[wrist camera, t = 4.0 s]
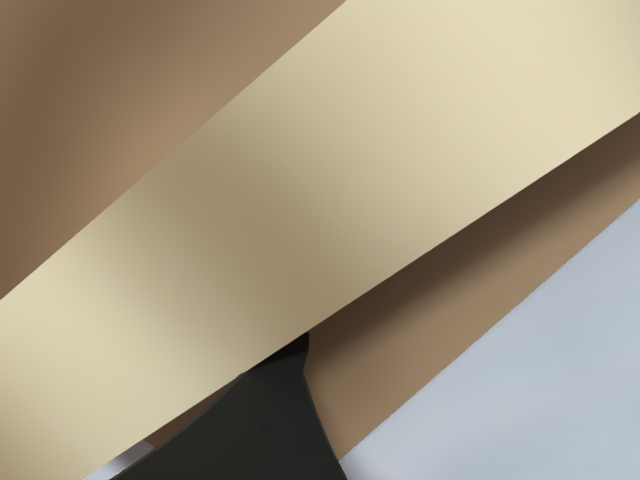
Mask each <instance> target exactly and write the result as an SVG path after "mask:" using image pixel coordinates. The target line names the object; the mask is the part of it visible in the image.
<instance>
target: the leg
mask: <svg viewBox="0 0 640 480" xmlns="http://www.w3.org/2000/svg"><path fill="white" fill-rule="evenodd" d="M639 112H640V0H347V1H345V2H344V3H343V4H342V5H341V6H340V7H338V8H337V9H336V10H335V11H334V12H333V13H332V14H330V15H329V16H328V17H327V18H326V19H325V20H323V21H322V22H321V23H320V24H319V25H318V26H316V27H315V28H314V29H313V30H312V31H311V32H310V33H308V34H307V35H306V36H305V37H304V38H303V39H301V40H300V41H299V42H298V43H297V44H296V45H295V46H293V47H292V48H291V49H290V50H289V51H288V52H286V53H285V54H284V55H283V56H282V57H281V58H280V59H278V60H277V61H276V62H275V63H274V64H273V65H271V66H270V67H269V68H268V69H267V70H266V71H265V72H263V73H262V74H261V75H260V76H259V77H258V78H256V79H255V80H254V81H253V82H252V83H251V84H250V85H248V86H247V87H246V88H245V89H244V90H243V91H241V92H240V93H239V94H238V95H237V96H236V97H235V98H233V99H232V100H231V101H230V102H229V103H228V104H226V105H225V106H224V107H223V108H222V109H221V110H219V111H218V112H217V113H216V114H215V115H214V116H213V117H211V118H210V119H209V120H208V121H207V122H206V123H204V124H203V125H202V126H201V127H200V128H199V129H198V130H196V131H195V132H194V133H193V134H192V135H191V136H189V137H188V138H187V139H186V140H185V141H184V142H183V143H181V144H180V145H179V146H178V147H177V148H176V149H174V150H173V151H172V152H171V153H170V154H169V155H168V156H166V157H165V158H164V159H163V160H162V161H161V162H159V163H158V164H157V165H156V166H155V167H154V168H153V169H151V170H150V171H149V172H148V173H147V174H146V175H144V176H143V177H142V178H141V179H140V180H139V181H138V182H136V183H135V184H134V185H133V186H132V187H131V188H129V189H128V190H127V191H126V192H125V193H124V194H122V195H121V196H120V197H119V198H118V199H117V200H116V201H114V202H113V203H112V204H111V205H110V206H109V207H107V208H106V209H105V210H104V211H103V212H102V213H101V214H99V215H98V216H97V217H96V218H95V219H94V220H92V221H91V222H90V223H89V224H88V225H87V226H86V227H84V228H83V229H82V230H81V231H80V232H79V233H77V234H76V235H75V236H74V237H73V238H72V239H71V240H69V241H68V242H67V243H66V244H65V245H64V246H62V247H61V248H60V249H59V250H58V251H57V252H56V253H54V254H53V255H52V256H51V257H50V258H49V259H47V260H46V261H45V262H44V263H43V264H42V265H41V266H39V267H38V268H37V269H36V270H35V271H34V272H32V273H31V274H30V275H29V276H28V277H27V278H25V279H24V280H23V281H22V282H21V283H20V284H19V285H17V286H16V287H15V288H14V289H13V290H12V291H10V292H9V293H8V294H7V295H6V296H5V297H4V298H2V299H1V300H0V480H82V479H83V478H85V477H86V476H88V475H89V474H91V473H92V472H94V471H95V470H97V469H98V468H100V467H101V466H103V465H104V464H106V463H107V462H109V461H110V460H112V459H114V458H115V457H117V456H118V455H120V454H121V453H123V452H124V451H126V450H127V449H129V448H130V447H132V446H133V445H135V444H136V443H138V442H139V441H141V440H142V439H144V438H145V437H147V436H148V435H150V434H151V433H153V432H155V431H156V430H158V429H159V428H161V427H162V426H164V425H165V424H167V423H168V422H170V421H171V420H173V419H174V418H176V417H177V416H179V415H180V414H182V413H183V412H185V411H186V410H188V409H189V408H191V407H193V406H194V405H196V404H197V403H199V402H200V401H202V400H203V399H205V398H206V397H208V396H209V395H211V394H212V393H214V392H215V391H217V390H218V389H220V388H221V387H223V386H224V385H226V384H227V383H229V382H231V381H232V380H234V379H235V378H236V377H237V376H238V375H239V374H241V373H243V372H246V371H247V370H249V369H250V368H252V367H253V366H255V365H256V364H258V363H259V362H261V361H262V360H264V359H265V358H267V357H268V356H270V355H272V354H273V353H275V352H276V351H278V350H279V349H281V348H282V347H284V346H285V345H287V344H288V343H290V342H291V341H293V340H294V339H296V338H297V337H299V336H300V335H302V334H303V333H305V332H306V331H308V330H310V329H311V328H313V327H314V326H316V325H317V324H319V323H320V322H322V321H323V320H325V319H326V318H328V317H329V316H331V315H332V314H334V313H335V312H337V311H338V310H340V309H341V308H343V307H344V306H346V305H347V304H349V303H351V302H352V301H354V300H355V299H357V298H358V297H360V296H361V295H363V294H364V293H366V292H367V291H369V290H370V289H372V288H373V287H375V286H376V285H378V284H379V283H381V282H382V281H384V280H385V279H387V278H389V277H390V276H392V275H393V274H395V273H396V272H398V271H399V270H401V269H402V268H404V267H405V266H407V265H408V264H410V263H411V262H413V261H414V260H416V259H417V258H419V257H420V256H422V255H423V254H425V253H426V252H428V251H430V250H431V249H433V248H434V247H436V246H437V245H439V244H440V243H442V242H443V241H445V240H446V239H448V238H449V237H451V236H452V235H454V234H455V233H457V232H458V231H460V230H461V229H463V228H464V227H466V226H468V225H469V224H471V223H472V222H474V221H475V220H477V219H478V218H480V217H481V216H483V215H484V214H486V213H487V212H489V211H490V210H492V209H493V208H495V207H496V206H498V205H499V204H501V203H502V202H504V201H506V200H507V199H509V198H510V197H512V196H513V195H515V194H516V193H518V192H519V191H521V190H522V189H524V188H525V187H527V186H528V185H530V184H531V183H533V182H534V181H536V180H537V179H539V178H540V177H542V176H543V175H545V174H547V173H548V172H550V171H551V170H553V169H554V168H556V167H557V166H559V165H560V164H562V163H563V162H565V161H566V160H568V159H569V158H571V157H572V156H574V155H575V154H577V153H578V152H580V151H581V150H583V149H585V148H586V147H588V146H589V145H591V144H592V143H594V142H595V141H597V140H598V139H600V138H601V137H603V136H604V135H606V134H607V133H609V132H610V131H612V130H613V129H615V128H616V127H618V126H619V125H621V124H622V123H624V122H626V121H627V120H629V119H630V118H632V117H633V116H635V115H636V114H638V113H639Z"/></svg>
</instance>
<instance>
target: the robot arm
mask: <svg viewBox="0 0 640 480" xmlns="http://www.w3.org/2000/svg"><path fill="white" fill-rule="evenodd" d="M308 351H309V332H305V333H303V334H302V335H300V336H299V337H297V338H296V339H294V340H293V341H291V342H290V343H288V344H287V345H285V346H284V347H282V348H281V349H279V350H278V351H276V352H275V353H273V354H272V355H270V356H268V357H267V358H265V359H264V360H262V361H261V362H259V363H258V364H256V365H255V366H253V367H252V368H250V369H249V370H247V371H246V372H243V373H241V374H239V375H238V376H237V377H236V379H235V380H234V381H233V382H232V383H231V384H230V385H229V386H228V387H227V388H226V389H225V390H224V391H223V392H222V393H221V394H219V395H218V396H217V397H216V398H215V399H214V400H213V401H212V402H211V403H210V404H209V405H208V406H207V407H206V408H205V409H204V410H203V411H201V412H200V413H199V414H198V415H197V416H196V417H194V418H193V419H192V420H191V421H190V422H189V423H187V424H186V425H185V426H184V427H183V428H181V429H180V430H179V431H177V432H176V433H175V434H174V435H172V436H171V437H170V438H169V439H167V440H166V441H165V442H163V443H162V444H161V445H159V446H158V447H156V448H155V449H154V450H152V451H151V452H149V453H148V454H146V455H145V456H144V457H142V458H141V459H139V460H138V461H137V462H135V463H134V464H132V465H131V466H129V467H128V468H126V469H125V470H123V471H122V472H120V473H119V474H117V475H116V476H114V477H113V478H111V479H110V480H348V479H347V477H346V475H345V473H344V471H343V470H342V468H341V466H340V464H339V462H338V460H337V458H336V456H335V453H334V451H333V449H332V447H331V445H330V443H329V440H328V438H327V436H326V433H325V431H324V428H323V426H322V424H321V421H320V419H319V416H318V414H317V411H316V408H315V406H314V403H313V400H312V397H311V394H310V391H309V388H308V385H307V382H306V378H305V375H304V372H303V369H304V365H305V362H306V358H307V355H308Z"/></svg>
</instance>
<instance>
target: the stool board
mask: <svg viewBox="0 0 640 480" xmlns="http://www.w3.org/2000/svg"><path fill="white" fill-rule="evenodd" d="M345 1H347V0H0V300H1V299H2V298H4V297H5V296H6V295H7V294H8V293H9V292H10V291H12V290H13V289H14V288H15V287H16V286H17V285H19V284H20V283H21V282H22V281H23V280H24V279H25V278H27V277H28V276H29V275H30V274H31V273H32V272H34V271H35V270H36V269H37V268H38V267H39V266H41V265H42V264H43V263H44V262H45V261H46V260H47V259H49V258H50V257H51V256H52V255H53V254H54V253H56V252H57V251H58V250H59V249H60V248H61V247H62V246H64V245H65V244H66V243H67V242H68V241H69V240H71V239H72V238H73V237H74V236H75V235H76V234H77V233H79V232H80V231H81V230H82V229H83V228H84V227H86V226H87V225H88V224H89V223H90V222H91V221H92V220H94V219H95V218H96V217H97V216H98V215H99V214H101V213H102V212H103V211H104V210H105V209H106V208H107V207H109V206H110V205H111V204H112V203H113V202H114V201H116V200H117V199H118V198H119V197H120V196H121V195H122V194H124V193H125V192H126V191H127V190H128V189H129V188H131V187H132V186H133V185H134V184H135V183H136V182H138V181H139V180H140V179H141V178H142V177H143V176H144V175H146V174H147V173H148V172H149V171H150V170H151V169H153V168H154V167H155V166H156V165H157V164H158V163H159V162H161V161H162V160H163V159H164V158H165V157H166V156H168V155H169V154H170V153H171V152H172V151H173V150H174V149H176V148H177V147H178V146H179V145H180V144H181V143H183V142H184V141H185V140H186V139H187V138H188V137H189V136H191V135H192V134H193V133H194V132H195V131H196V130H198V129H199V128H200V127H201V126H202V125H203V124H204V123H206V122H207V121H208V120H209V119H210V118H211V117H213V116H214V115H215V114H216V113H217V112H218V111H219V110H221V109H222V108H223V107H224V106H225V105H226V104H228V103H229V102H230V101H231V100H232V99H233V98H235V97H236V96H237V95H238V94H239V93H240V92H241V91H243V90H244V89H245V88H246V87H247V86H248V85H250V84H251V83H252V82H253V81H254V80H255V79H256V78H258V77H259V76H260V75H261V74H262V73H263V72H265V71H266V70H267V69H268V68H269V67H270V66H271V65H273V64H274V63H275V62H276V61H277V60H278V59H280V58H281V57H282V56H283V55H284V54H285V53H286V52H288V51H289V50H290V49H291V48H292V47H293V46H295V45H296V44H297V43H298V42H299V41H300V40H301V39H303V38H304V37H305V36H306V35H307V34H308V33H310V32H311V31H312V30H313V29H314V28H315V27H316V26H318V25H319V24H320V23H321V22H322V21H323V20H325V19H326V18H327V17H328V16H329V15H330V14H332V13H333V12H334V11H335V10H336V9H337V8H338V7H340V6H341V5H342V4H343V3H344V2H345ZM639 198H640V112H639V113H638V114H636V115H635V116H633V117H632V118H630V119H629V120H627V121H626V122H624V123H622V124H621V125H619V126H618V127H616V128H615V129H613V130H612V131H610V132H609V133H607V134H606V135H604V136H603V137H601V138H600V139H598V140H597V141H595V142H594V143H592V144H591V145H589V146H588V147H586V148H585V149H583V150H581V151H580V152H578V153H577V154H575V155H574V156H572V157H571V158H569V159H568V160H566V161H565V162H563V163H562V164H560V165H559V166H557V167H556V168H554V169H553V170H551V171H550V172H548V173H547V174H545V175H543V176H542V177H540V178H539V179H537V180H536V181H534V182H533V183H531V184H530V185H528V186H527V187H525V188H524V189H522V190H521V191H519V192H518V193H516V194H515V195H513V196H512V197H510V198H509V199H507V200H506V201H504V202H502V203H501V204H499V205H498V206H496V207H495V208H493V209H492V210H490V211H489V212H487V213H486V214H484V215H483V216H481V217H480V218H478V219H477V220H475V221H474V222H472V223H471V224H469V225H468V226H466V227H464V228H463V229H461V230H460V231H458V232H457V233H455V234H454V235H452V236H451V237H449V238H448V239H446V240H445V241H443V242H442V243H440V244H439V245H437V246H436V247H434V248H433V249H431V250H430V251H428V252H426V253H425V254H423V255H422V256H420V257H419V258H417V259H416V260H414V261H413V262H411V263H410V264H408V265H407V266H405V267H404V268H402V269H401V270H399V271H398V272H396V273H395V274H393V275H392V276H390V277H389V278H387V279H385V280H384V281H382V282H381V283H379V284H378V285H376V286H375V287H373V288H372V289H370V290H369V291H367V292H366V293H364V294H363V295H361V296H360V297H358V298H357V299H355V300H354V301H352V302H351V303H349V304H347V305H346V306H344V307H343V308H341V309H340V310H338V311H337V312H335V313H334V314H332V315H331V316H329V317H328V318H326V319H325V320H323V321H322V322H320V323H319V324H317V325H316V326H314V327H313V328H311V329H310V330H308V331H306V332H309V351H308V355H307V358H306V362H305V365H304V369H303V372H304V375H305V378H306V382H307V385H308V388H309V391H310V394H311V397H312V400H313V403H314V406H315V408H316V411H317V414H318V416H319V419H320V421H321V424H322V426H323V428H324V431H325V433H326V436H327V438H328V440H329V443H330V445H331V447H332V449H333V451H334V453H335V456H336V458H337V460H339V459H341V458H342V457H343V456H344V455H345V454H346V453H348V452H349V451H350V450H351V449H352V448H353V447H354V446H356V445H357V444H358V443H359V442H360V441H361V440H362V439H364V438H365V437H366V436H367V435H368V434H369V433H370V432H372V431H373V430H374V429H375V428H376V427H377V426H379V425H380V424H381V423H382V422H383V421H384V420H385V419H387V418H388V417H389V416H390V415H391V414H392V413H393V412H395V411H396V410H397V409H398V408H399V407H400V406H401V405H403V404H404V403H405V402H406V401H407V400H408V399H410V398H411V397H412V396H413V395H414V394H415V393H416V392H418V391H419V390H420V389H421V388H422V387H423V386H424V385H426V384H427V383H428V382H429V381H430V380H431V379H432V378H434V377H435V376H436V375H437V374H438V373H439V372H441V371H442V370H443V369H444V368H445V367H446V366H447V365H449V364H450V363H451V362H452V361H453V360H454V359H455V358H457V357H458V356H459V355H460V354H461V353H462V352H463V351H465V350H466V349H467V348H468V347H469V346H470V345H472V344H473V343H474V342H475V341H476V340H477V339H478V338H480V337H481V336H482V335H483V334H484V333H485V332H486V331H488V330H489V329H490V328H491V327H492V326H493V325H494V324H496V323H497V322H498V321H499V320H500V319H501V318H503V317H504V316H505V315H506V314H507V313H508V312H509V311H511V310H512V309H513V308H514V307H515V306H516V305H517V304H519V303H520V302H521V301H522V300H523V299H524V298H525V297H527V296H528V295H529V294H530V293H531V292H532V291H534V290H535V289H536V288H537V287H538V286H539V285H540V284H542V283H543V282H544V281H545V280H546V279H547V278H548V277H550V276H551V275H552V274H553V273H554V272H555V271H556V270H558V269H559V268H560V267H561V266H562V265H563V264H565V263H566V262H567V261H568V260H569V259H570V258H571V257H573V256H574V255H575V254H576V253H577V252H578V251H579V250H581V249H582V248H583V247H584V246H585V245H586V244H587V243H589V242H590V241H591V240H592V239H593V238H594V237H596V236H597V235H598V234H599V233H600V232H601V231H602V230H604V229H605V228H606V227H607V226H608V225H609V224H610V223H612V222H613V221H614V220H615V219H616V218H617V217H619V216H620V215H621V214H622V213H623V212H624V211H625V210H627V209H628V208H629V207H630V206H631V205H632V204H633V203H635V202H636V201H637V200H638V199H639ZM235 379H236V378H235ZM235 379H234V380H235ZM234 380H232V381H231V382H229V383H227V384H226V385H224V386H223V387H221V388H220V389H218V390H217V391H215V392H214V393H212V394H211V395H209V396H208V397H206V398H205V399H203V400H202V401H200V402H199V403H197V404H196V405H194V406H193V407H191V408H189V409H188V410H186V411H185V412H183V413H182V414H180V415H179V416H177V417H176V418H174V419H173V420H171V421H170V422H168V423H167V424H165V425H164V426H162V427H161V428H159V429H158V430H156V431H155V432H153V433H151V434H150V435H148V436H147V437H145V438H144V439H143V440H145V441H146V442H148V443H150V444H151V445H153V446H154V447H158V446H159V445H161V444H162V443H163V442H165V441H166V440H167V439H169V438H170V437H171V436H172V435H174V434H175V433H176V432H177V431H179V430H180V429H181V428H183V427H184V426H185V425H186V424H187V423H189V422H190V421H191V420H192V419H193V418H194V417H196V416H197V415H198V414H199V413H200V412H201V411H203V410H204V409H205V408H206V407H207V406H208V405H209V404H210V403H211V402H212V401H213V400H214V399H215V398H216V397H217V396H218V395H219V394H221V393H222V392H223V391H224V390H225V389H226V388H227V387H228V386H229V385H230V384H231V383H232V382H233V381H234Z"/></svg>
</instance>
